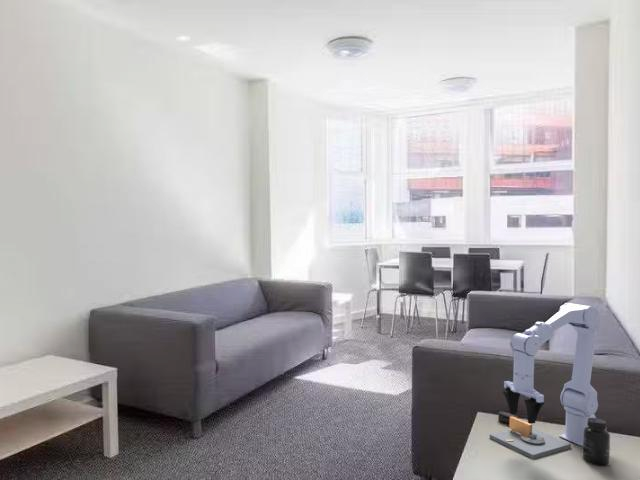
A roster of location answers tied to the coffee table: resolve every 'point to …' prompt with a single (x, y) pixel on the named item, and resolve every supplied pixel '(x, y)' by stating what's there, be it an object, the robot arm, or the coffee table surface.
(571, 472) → the coffee table surface
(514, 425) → the orange block with disc
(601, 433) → the supplement bottle
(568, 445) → the board
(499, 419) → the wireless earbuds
